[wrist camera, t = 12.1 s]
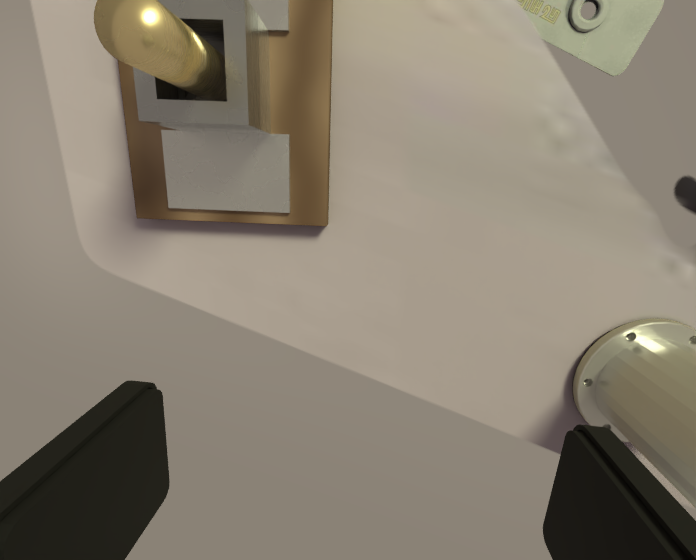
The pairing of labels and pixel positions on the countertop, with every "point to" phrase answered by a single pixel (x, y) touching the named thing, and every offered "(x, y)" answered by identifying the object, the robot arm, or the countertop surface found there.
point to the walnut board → (286, 118)
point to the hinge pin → (161, 46)
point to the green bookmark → (595, 28)
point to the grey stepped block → (223, 114)
